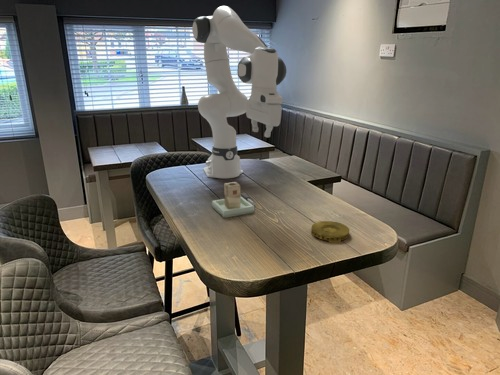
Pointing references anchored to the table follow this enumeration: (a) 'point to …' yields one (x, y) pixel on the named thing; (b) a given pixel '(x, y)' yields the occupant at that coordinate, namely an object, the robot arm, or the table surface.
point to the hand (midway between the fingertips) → (261, 134)
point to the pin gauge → (247, 198)
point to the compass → (330, 231)
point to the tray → (225, 212)
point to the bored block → (232, 195)
